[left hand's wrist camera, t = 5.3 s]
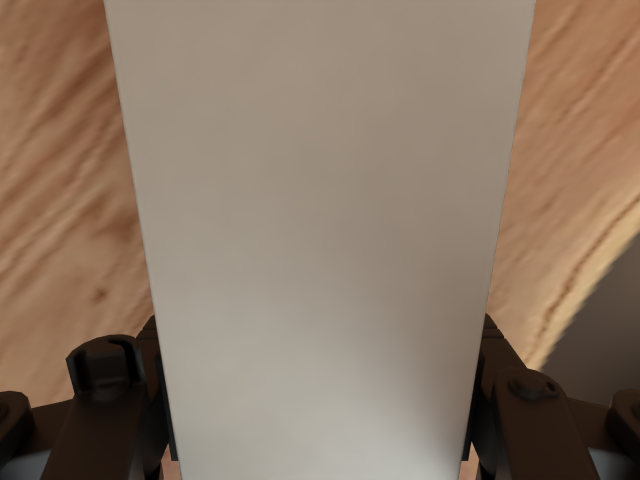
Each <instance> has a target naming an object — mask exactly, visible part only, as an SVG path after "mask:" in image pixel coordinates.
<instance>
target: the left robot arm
mask: <svg viewBox="0 0 640 480" xmlns="http://www.w3.org/2000/svg"><path fill="white" fill-rule="evenodd" d="M66 362H67V366H68V370H69V374H70V378H71V381H72V385H73V389H74V393H75V395H74V397H73V399H70V400H67V401H63V402H59V403H54V404H49V405H45V406H40V407H36V408H31V406H30V403H29V400H28V397H27V396H25V395H24V394H23V393H22V392H15V391H5V392H0V480H163V479H164V476H163V469H162V463H161V459H162V457H163V454H164V452H165V449H166V447H167V445H168V442H169V448H170V454H171V460H172V461H178V455H177V449H176V443H175V437H174V431H173V425H172V419H171V412H170V406H169V400H168V394H167V388H166V382H165V375H164V369H163V363H162V357H161V351H160V345H159V338H158V332H157V326H156V320H155V314H154V315H153V316H151V317H150V319H149V320H148V321H147V323H146V324H145V326H144V327H143V330H141V331H140V333H139V334H138V335H137V337H136V339H135V338H134V337H132V336H128V335H124V334H119V335H107V336H103V337H98V338H95V339H93V340H90V341H88V342H86V343H83V344H82V345H80V346H79V347H77V348H76V349H74V350H73V351H72V352H71V353H70V354H69V355H68V357H67V358H66ZM471 441H472V443H473V446H474V448H475V450H476V453H477V455H478V457H479V463H478V469H477V474H476V480H640V390H634V389H626V390H619V391H618V392H616V393H615V394H614V395H613V396H612V399H611V402H610V405H609V407H608V406H603V405H599V404H594V403H589V402H584V401H580V400H576V399H572V398H569V397H567V396H566V394H565V392H564V391H563V389H562V388H561V387H560V385H559V384H558V383H556V382H555V381H554V380H552V379H551V378H550V377H548V376H546V375H544V374H542V373H540V372H538V371H536V370H532V369H528V368H527V367H526V366H525V365H524V363H523V362H522V360H521V359H520V358H519V356H518V355H517V353H516V352H515V351H514V349H513V348H512V347H511V345H510V344H509V342H508V341H507V340H506V339H504V335H503V334H502V333H501V331H500V330H499V329H497V326H496V324H495V323H494V322H493V320H492V319H491V317H490V316H489V315H488V314H486V313H485V319H484V325H483V331H482V337H481V343H480V349H479V356H478V362H477V368H476V374H475V380H474V386H473V393H472V399H471V405H470V411H469V417H468V423H467V430H466V436H465V442H464V448H463V454H462V460H461V461H468V458H469V453H470V447H471Z"/></svg>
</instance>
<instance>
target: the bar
mask: <svg viewBox="0 0 640 480" xmlns="http://www.w3.org/2000/svg"><path fill="white" fill-rule="evenodd" d="M535 5H536V0H104V6H105V12H106V18H107V25H108V31H109V37H110V43H111V49H112V55H113V62H114V68H115V74H116V80H117V86H118V92H119V98H120V105H121V111H122V117H123V123H124V129H125V135H126V142H127V148H128V154H129V160H130V166H131V172H132V178H133V185H134V191H135V197H136V203H137V209H138V215H139V222H140V228H141V234H142V240H143V246H144V252H145V258H146V265H147V271H148V277H149V283H150V289H151V295H152V302H153V308H154V314H155V320H156V326H157V332H158V338H159V345H160V351H161V357H162V363H163V369H164V375H165V382H166V388H167V394H168V400H169V406H170V412H171V419H172V425H173V431H174V437H175V443H176V449H177V455H178V462H179V468H180V474H181V480H458V479H459V473H460V466H461V460H462V454H463V448H464V442H465V436H466V430H467V423H468V417H469V411H470V405H471V399H472V393H473V386H474V380H475V374H476V368H477V362H478V356H479V349H480V343H481V337H482V331H483V325H484V319H485V313H486V306H487V300H488V294H489V288H490V282H491V276H492V269H493V263H494V257H495V251H496V245H497V239H498V232H499V226H500V220H501V214H502V208H503V202H504V195H505V189H506V183H507V177H508V171H509V165H510V159H511V152H512V146H513V140H514V134H515V128H516V122H517V115H518V109H519V103H520V97H521V91H522V85H523V78H524V72H525V66H526V60H527V54H528V48H529V41H530V35H531V29H532V23H533V17H534V11H535Z"/></svg>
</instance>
